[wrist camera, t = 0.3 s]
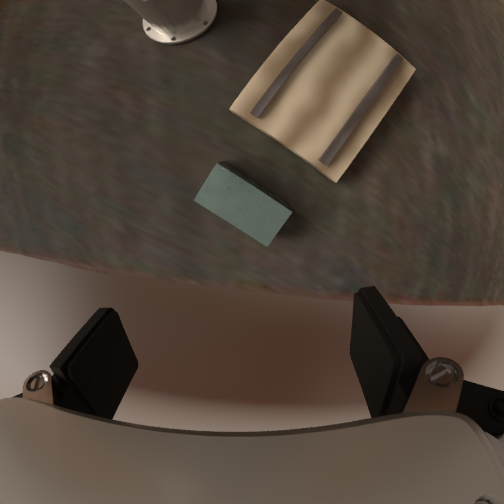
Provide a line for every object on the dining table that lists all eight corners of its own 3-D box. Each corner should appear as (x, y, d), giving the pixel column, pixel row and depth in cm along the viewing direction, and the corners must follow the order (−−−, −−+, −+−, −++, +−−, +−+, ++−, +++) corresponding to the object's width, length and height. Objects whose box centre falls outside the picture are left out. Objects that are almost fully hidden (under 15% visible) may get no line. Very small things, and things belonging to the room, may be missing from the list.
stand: (232, 112, 37) (228, 107, 33) (316, 8, 30) (322, -6, 25) (329, 179, 41) (338, 183, 36) (404, 73, 33) (419, 67, 28)
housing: (202, 193, 42) (193, 200, 37) (222, 160, 40) (216, 163, 35) (266, 233, 44) (267, 246, 39) (288, 203, 42) (292, 212, 37)
